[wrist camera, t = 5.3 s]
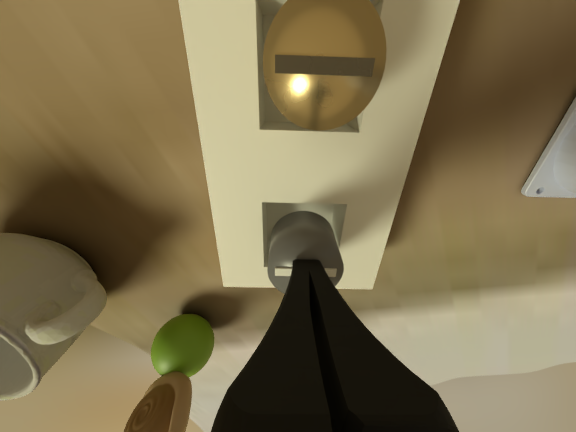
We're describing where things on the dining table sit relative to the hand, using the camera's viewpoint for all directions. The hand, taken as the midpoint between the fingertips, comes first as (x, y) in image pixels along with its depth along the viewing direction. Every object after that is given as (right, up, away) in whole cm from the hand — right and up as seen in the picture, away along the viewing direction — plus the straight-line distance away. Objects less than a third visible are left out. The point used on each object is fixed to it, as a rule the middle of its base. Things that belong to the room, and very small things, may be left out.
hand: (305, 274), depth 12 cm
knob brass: (0, +9, -2) cm, 10 cm away
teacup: (-20, -1, +9) cm, 22 cm away
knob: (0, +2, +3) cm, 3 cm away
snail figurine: (-10, -8, +12) cm, 18 cm away
